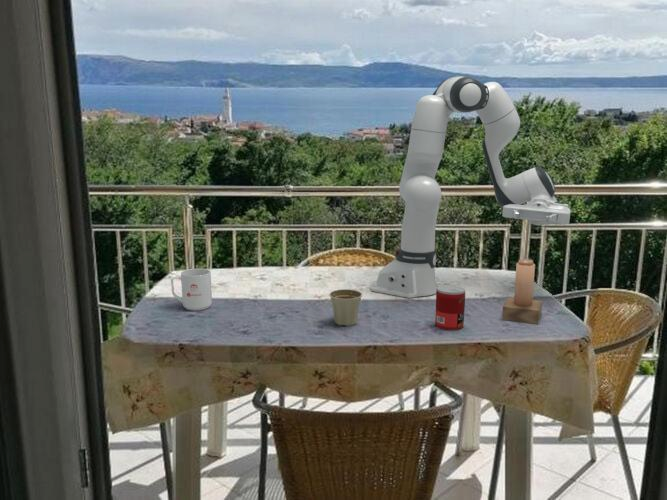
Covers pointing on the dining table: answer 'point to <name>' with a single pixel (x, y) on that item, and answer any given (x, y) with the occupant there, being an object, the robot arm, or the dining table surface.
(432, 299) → the dining table surface
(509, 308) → the pedestal
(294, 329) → the dining table surface
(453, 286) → the canned food
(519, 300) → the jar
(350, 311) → the flower pot
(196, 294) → the mug
